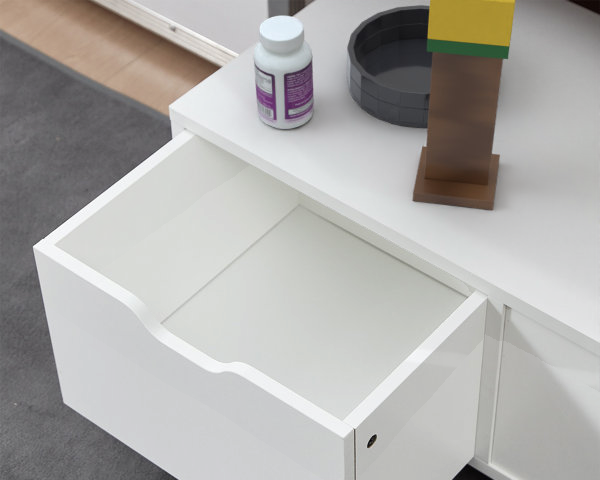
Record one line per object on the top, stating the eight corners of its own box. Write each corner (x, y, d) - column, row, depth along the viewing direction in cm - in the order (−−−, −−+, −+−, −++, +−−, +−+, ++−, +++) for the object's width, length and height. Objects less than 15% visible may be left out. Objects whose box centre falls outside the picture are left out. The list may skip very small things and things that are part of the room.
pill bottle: (314, 95, 118) (312, 10, 111) (313, 131, 114) (311, 44, 107) (258, 96, 118) (253, 10, 111) (255, 131, 114) (250, 44, 107)
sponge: (512, 29, 99) (518, -28, 95) (507, 59, 96) (514, 2, 92) (433, 21, 100) (436, -35, 96) (426, 51, 97) (430, -5, 93)
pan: (500, 46, 123) (504, 12, 120) (487, 135, 113) (491, 100, 110) (360, 33, 125) (360, -1, 122) (336, 119, 115) (336, 84, 112)
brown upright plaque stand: (499, 162, 111) (516, 21, 100) (492, 210, 106) (510, 68, 95) (421, 154, 112) (431, 13, 101) (412, 201, 107) (421, 59, 96)
